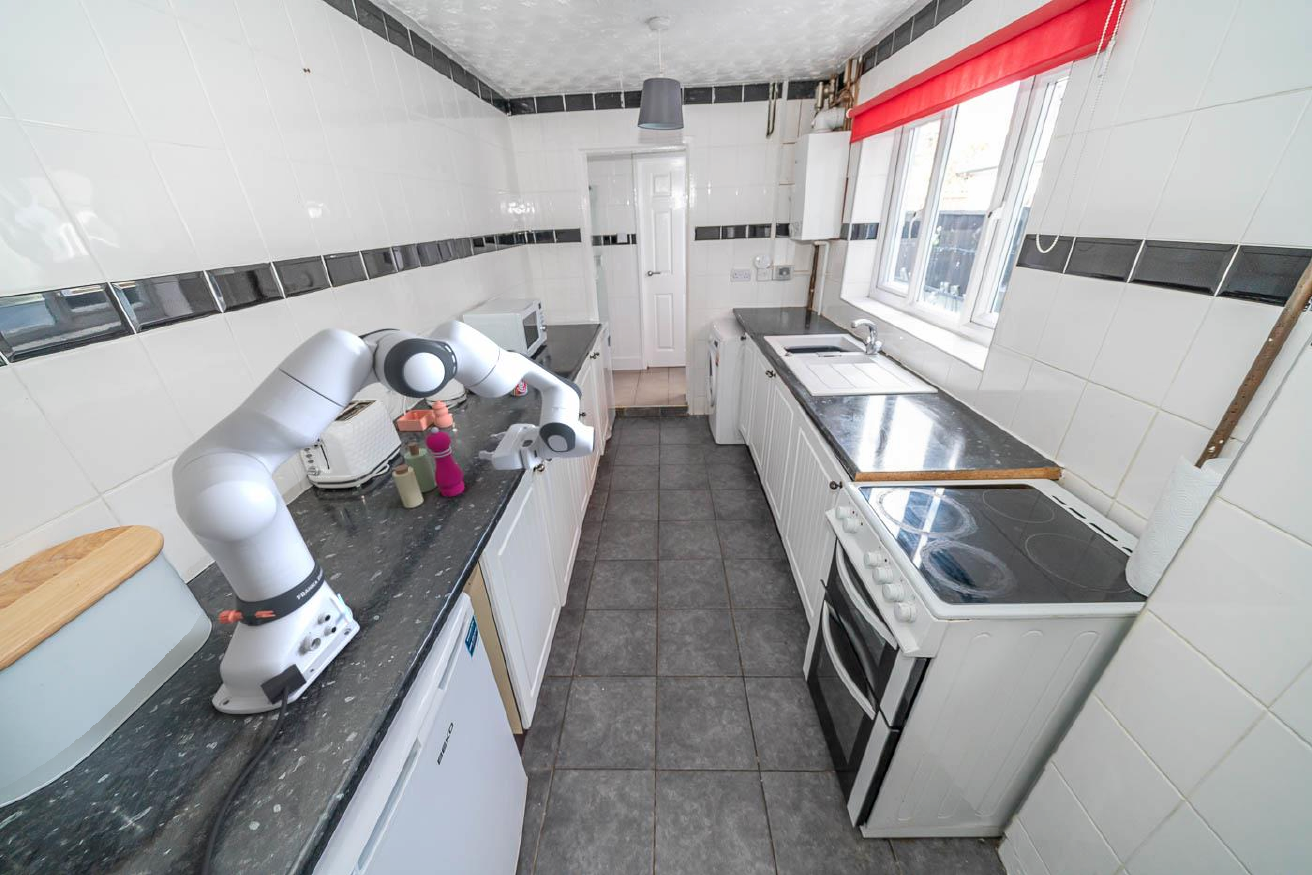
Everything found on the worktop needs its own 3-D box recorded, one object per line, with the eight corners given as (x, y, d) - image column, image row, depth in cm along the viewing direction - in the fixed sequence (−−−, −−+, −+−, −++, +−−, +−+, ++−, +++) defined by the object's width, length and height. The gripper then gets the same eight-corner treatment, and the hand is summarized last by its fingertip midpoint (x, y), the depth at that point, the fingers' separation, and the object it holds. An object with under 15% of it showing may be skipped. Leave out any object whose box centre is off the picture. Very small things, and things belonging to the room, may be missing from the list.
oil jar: (432, 491, 129) (418, 448, 122) (411, 492, 129) (396, 449, 123) (440, 480, 134) (427, 438, 128) (420, 481, 134) (406, 439, 128)
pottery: (400, 431, 167) (391, 406, 163) (413, 420, 176) (406, 396, 171) (446, 430, 166) (439, 405, 161) (458, 419, 174) (451, 395, 170)
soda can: (509, 393, 197) (503, 364, 191) (526, 389, 200) (521, 361, 194) (512, 398, 191) (506, 368, 186) (529, 395, 194) (524, 365, 188)
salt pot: (418, 507, 122) (406, 471, 117) (400, 508, 122) (387, 472, 117) (426, 496, 127) (415, 462, 122) (409, 497, 127) (396, 463, 122)
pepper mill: (457, 498, 125) (437, 434, 116) (434, 496, 126) (413, 432, 117) (471, 484, 131) (454, 422, 122) (449, 482, 133) (430, 421, 124)
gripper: (542, 417, 130) (494, 419, 130) (525, 451, 112) (469, 454, 112) (545, 436, 133) (499, 439, 133) (529, 473, 115) (475, 476, 115)
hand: (485, 446), depth 123 cm, fingers open, 8 cm apart
